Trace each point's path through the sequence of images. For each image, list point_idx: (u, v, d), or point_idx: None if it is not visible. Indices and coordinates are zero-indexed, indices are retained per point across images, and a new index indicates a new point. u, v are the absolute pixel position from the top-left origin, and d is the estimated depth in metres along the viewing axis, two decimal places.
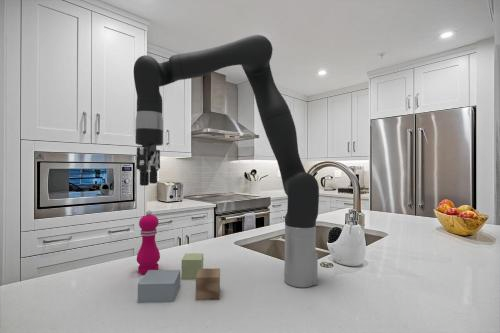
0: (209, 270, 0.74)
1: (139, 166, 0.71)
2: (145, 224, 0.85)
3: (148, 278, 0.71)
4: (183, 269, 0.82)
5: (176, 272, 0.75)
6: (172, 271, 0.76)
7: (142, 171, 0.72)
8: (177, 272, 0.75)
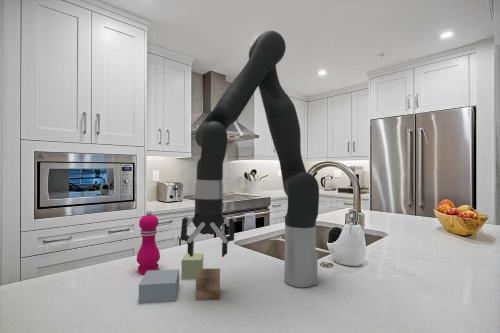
0: (209, 270, 0.74)
1: (233, 237, 0.72)
2: (145, 224, 0.85)
3: (148, 278, 0.71)
4: (183, 269, 0.82)
5: (175, 272, 0.75)
6: (172, 271, 0.76)
7: (228, 241, 0.73)
8: (176, 272, 0.75)
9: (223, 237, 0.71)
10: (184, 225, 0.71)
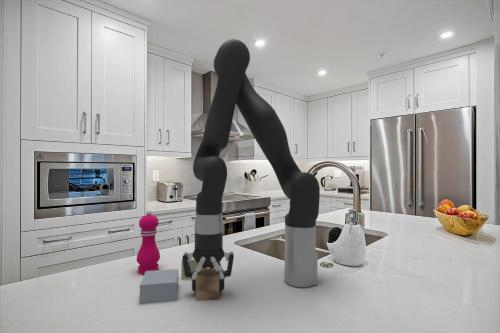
0: (209, 269, 0.74)
1: (230, 272, 0.72)
2: (145, 224, 0.85)
3: (148, 279, 0.71)
4: (183, 269, 0.82)
5: (175, 271, 0.75)
6: (171, 271, 0.76)
7: None
8: (176, 271, 0.76)
9: (220, 273, 0.71)
10: (185, 262, 0.71)
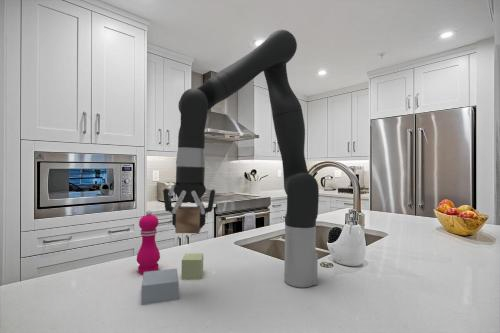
0: (190, 207, 0.74)
1: (211, 208, 0.72)
2: (145, 224, 0.85)
3: (148, 279, 0.70)
4: (183, 269, 0.82)
5: (174, 271, 0.76)
6: (170, 270, 0.76)
7: None
8: (175, 271, 0.76)
9: (201, 208, 0.71)
10: (166, 196, 0.70)
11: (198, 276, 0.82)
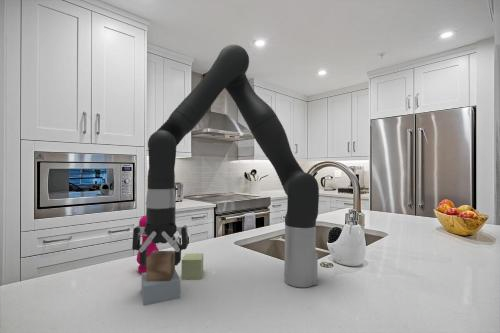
0: (163, 252, 0.74)
1: (186, 245, 0.72)
2: (145, 224, 0.85)
3: None
4: (183, 269, 0.82)
5: None
6: None
7: None
8: None
9: (175, 246, 0.71)
10: (135, 235, 0.71)
11: (198, 276, 0.82)
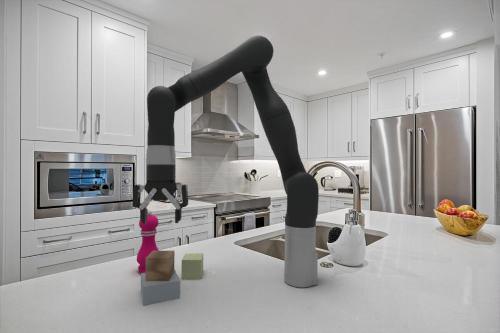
0: (162, 252, 0.74)
1: (187, 203, 0.72)
2: (145, 224, 0.85)
3: None
4: (183, 269, 0.82)
5: None
6: None
7: (181, 208, 0.72)
8: None
9: (176, 203, 0.71)
10: (136, 192, 0.70)
11: (198, 276, 0.82)
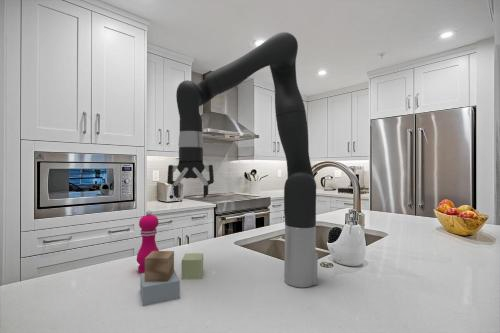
0: (162, 252, 0.74)
1: None
2: (145, 224, 0.85)
3: None
4: (183, 269, 0.82)
5: None
6: None
7: None
8: None
9: (204, 180, 0.84)
10: (170, 171, 0.83)
11: (198, 276, 0.82)
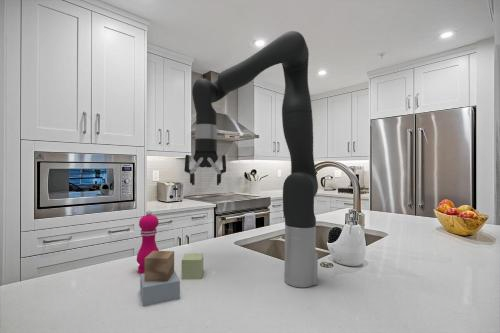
0: (162, 252, 0.74)
1: (225, 170, 0.93)
2: (145, 224, 0.85)
3: (148, 281, 0.70)
4: (183, 269, 0.82)
5: None
6: None
7: (221, 173, 0.93)
8: None
9: (217, 169, 0.92)
10: (187, 160, 0.91)
11: (198, 276, 0.82)
